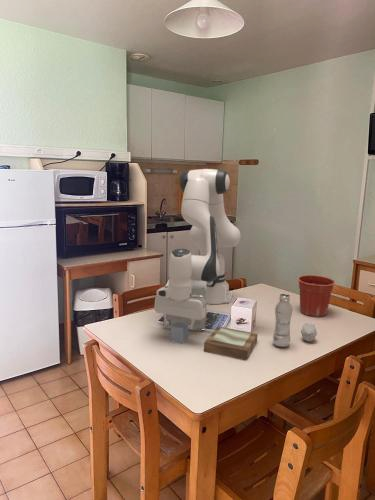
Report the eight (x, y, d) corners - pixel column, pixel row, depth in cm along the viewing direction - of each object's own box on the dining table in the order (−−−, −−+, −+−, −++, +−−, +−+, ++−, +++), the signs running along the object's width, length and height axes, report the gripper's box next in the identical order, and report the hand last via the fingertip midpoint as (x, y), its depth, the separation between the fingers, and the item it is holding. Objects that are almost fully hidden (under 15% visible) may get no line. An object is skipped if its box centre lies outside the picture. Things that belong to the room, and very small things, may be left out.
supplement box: (206, 319, 168) (207, 280, 164) (204, 331, 155) (205, 289, 151) (167, 317, 170) (168, 278, 166) (163, 329, 157) (163, 287, 153)
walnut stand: (217, 334, 153) (218, 325, 152) (257, 342, 147) (257, 332, 146) (203, 351, 138) (204, 340, 137) (246, 360, 132) (247, 349, 131)
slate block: (176, 336, 151) (176, 322, 149) (187, 338, 149) (188, 324, 147) (170, 341, 146) (171, 326, 145) (182, 343, 144) (183, 328, 143)
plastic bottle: (268, 344, 144) (272, 294, 140) (279, 340, 149) (283, 291, 145) (282, 351, 139) (286, 299, 135) (293, 346, 144) (297, 295, 140)
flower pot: (327, 322, 168) (331, 287, 165) (290, 314, 176) (293, 281, 173) (334, 311, 182) (338, 278, 178) (300, 304, 190) (303, 273, 187)
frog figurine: (316, 338, 151) (318, 322, 149) (315, 345, 144) (317, 328, 143) (301, 335, 153) (302, 319, 152) (299, 342, 147) (300, 325, 145)
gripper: (208, 293, 142) (207, 328, 145) (160, 286, 150) (159, 319, 153) (202, 298, 136) (201, 334, 139) (152, 290, 144) (152, 324, 147)
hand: (179, 326), depth 146 cm, fingers open, 8 cm apart
